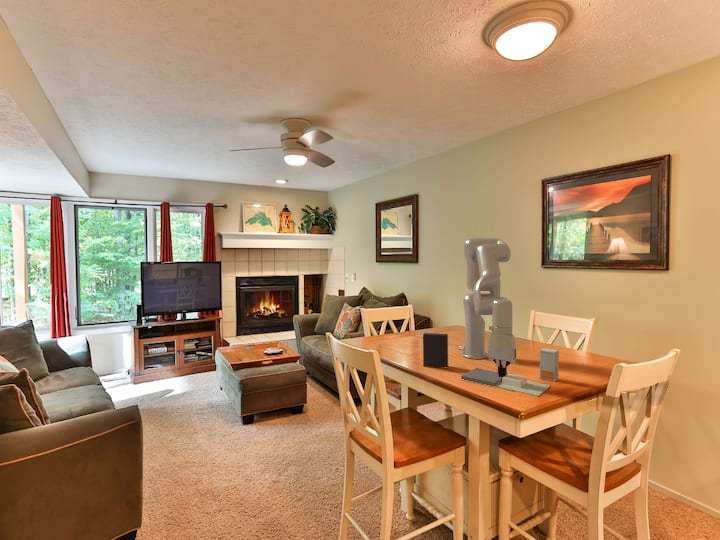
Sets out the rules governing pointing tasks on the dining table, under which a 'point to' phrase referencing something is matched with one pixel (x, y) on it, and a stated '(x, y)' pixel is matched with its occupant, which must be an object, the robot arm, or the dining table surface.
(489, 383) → the board
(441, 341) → the black rectangular block
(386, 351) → the dining table surface
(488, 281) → the robot arm
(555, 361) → the skincare box
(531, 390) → the mat
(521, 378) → the coaster tile
